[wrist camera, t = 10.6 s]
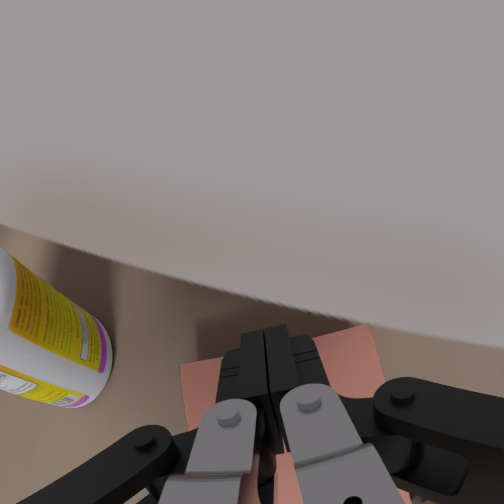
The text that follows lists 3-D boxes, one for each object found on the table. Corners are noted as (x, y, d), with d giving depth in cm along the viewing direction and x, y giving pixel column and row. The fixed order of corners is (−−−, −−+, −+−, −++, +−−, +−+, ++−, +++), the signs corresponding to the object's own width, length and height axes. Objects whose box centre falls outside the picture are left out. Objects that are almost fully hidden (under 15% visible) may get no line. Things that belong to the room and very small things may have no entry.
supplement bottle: (77, 298, 21) (-52, 184, 10) (135, 350, 18) (-33, 230, 7) (30, 368, 18) (-113, 289, 7) (80, 430, 16) (-105, 377, 5)
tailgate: (209, 540, 10) (179, 363, 14) (217, 531, 11) (189, 368, 16) (410, 501, 9) (368, 322, 14) (401, 495, 11) (363, 331, 15)
